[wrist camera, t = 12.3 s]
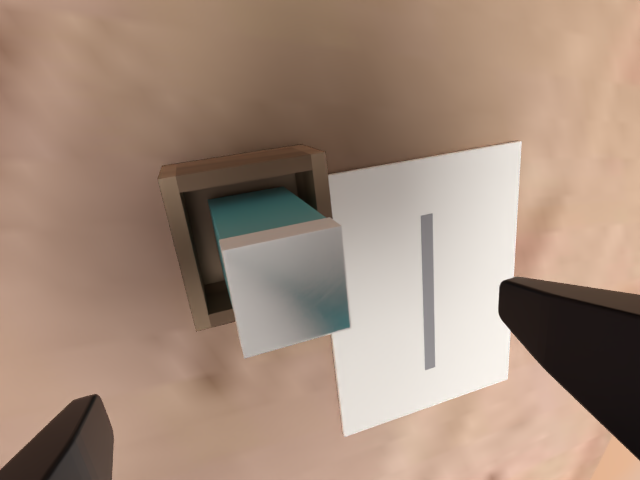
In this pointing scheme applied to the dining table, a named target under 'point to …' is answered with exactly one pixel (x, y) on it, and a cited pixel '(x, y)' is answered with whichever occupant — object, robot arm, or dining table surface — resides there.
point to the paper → (424, 280)
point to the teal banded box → (280, 269)
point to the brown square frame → (220, 181)
